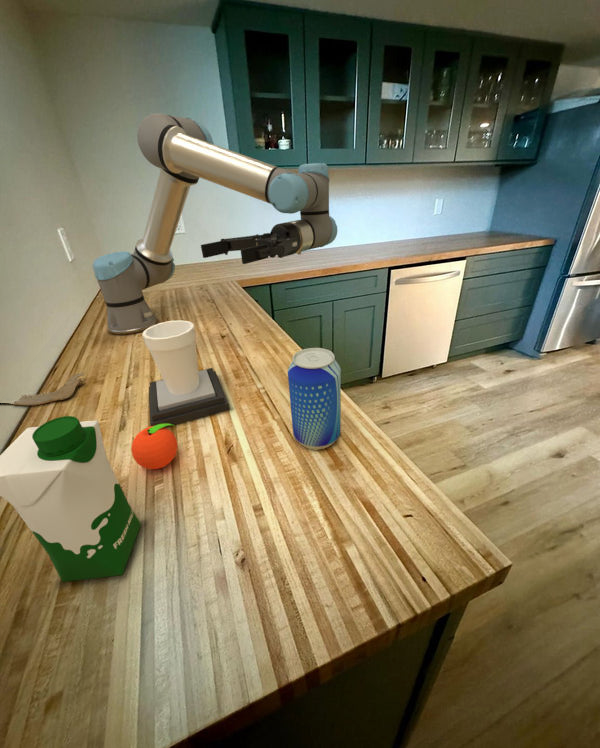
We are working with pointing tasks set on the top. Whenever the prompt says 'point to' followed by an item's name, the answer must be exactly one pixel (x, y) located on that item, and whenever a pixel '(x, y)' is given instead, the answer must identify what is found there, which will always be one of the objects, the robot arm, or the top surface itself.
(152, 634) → the top surface
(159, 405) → the scale platform
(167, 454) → the clementine
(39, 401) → the jawbone
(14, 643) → the top surface
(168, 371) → the foam cup
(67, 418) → the milk carton
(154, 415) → the scale
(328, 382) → the beer can
